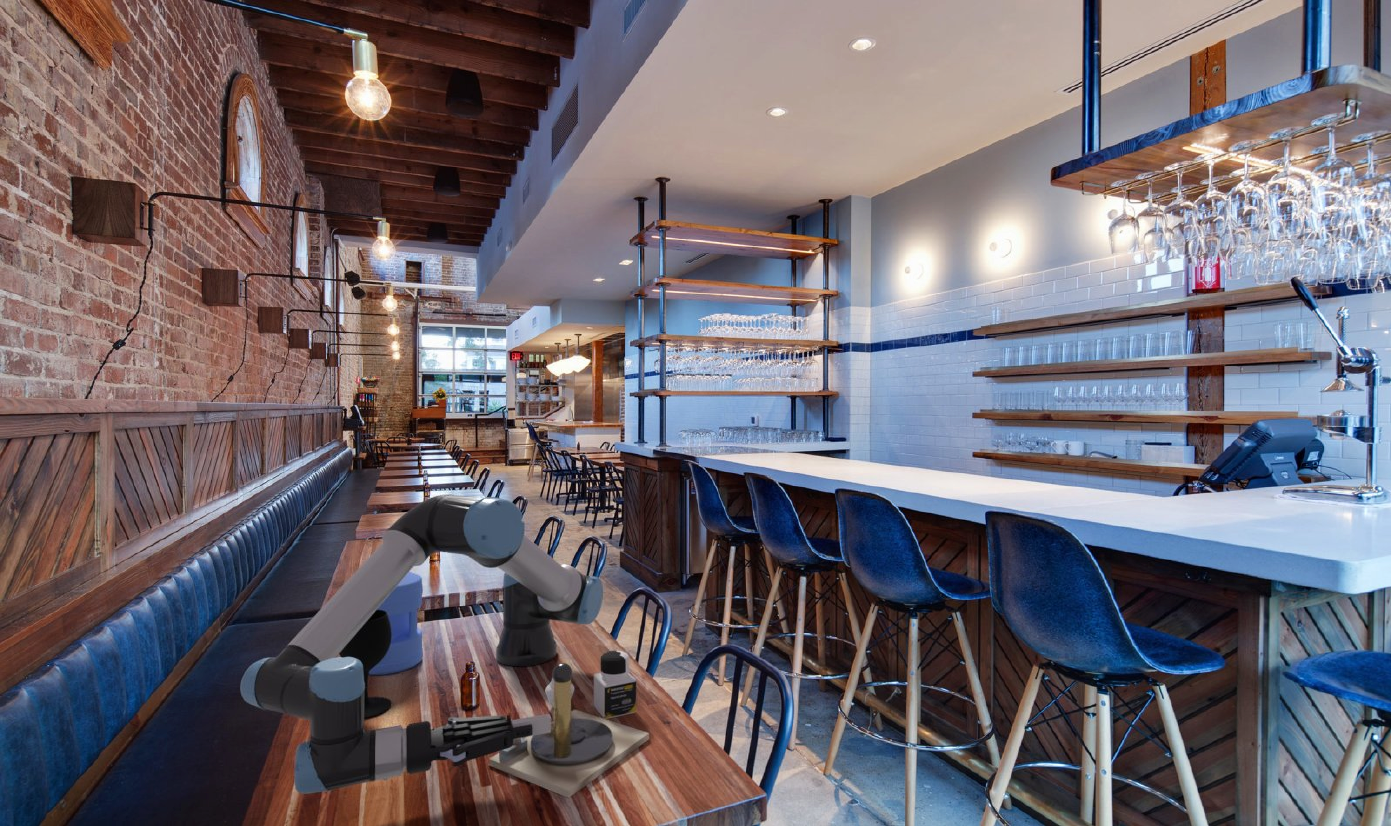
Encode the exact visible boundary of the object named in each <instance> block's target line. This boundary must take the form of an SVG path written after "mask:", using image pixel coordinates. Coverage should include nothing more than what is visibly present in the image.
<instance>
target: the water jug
mask: <svg viewBox="0 0 1391 826" xmlns="http://www.w3.org/2000/svg"><path fill="white" fill-rule="evenodd" d="M423 587H424V586H423V578H422V576H421V575H419V574H417V573H415V572H412V571H409V572H408V574H407V575H406V576H405V577H404V578H403V579H402V581H401V582H400V583H399V584H398V585H397V586H396V588H395V589H394V590H393V591H392V592H391V594H390V595H389V596H388V597H387V598H386V599H385V601H384V602H383V603H382V604H381V605H380V606H379V608H378V609H377V610H383V611H386V612H387V614H388V617H389V621H390V625H391V632H392V637H391V644H390V647H389V650H388V652H387V654H386V655H385V656H384V658H383V659H382V660H381V661H380V662H379V663H378V664H377V665H376V666H375V667H374V668H372V669H371V670H370V671H369V674H368V676H369V675H371V676H381V675H391V674H396V673H400V672H404V671H406V670H409V669H411V668H414V667H415V666H417V665H418V664H419V663H420V662H421V661H422V660H423V656H424V649H423V631H422V629H421V628H419V627H418V609H420V607H421V606H422V605H423V591H424V589H423Z"/></svg>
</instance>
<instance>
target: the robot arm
mask: <svg viewBox="0 0 1391 826" xmlns="http://www.w3.org/2000/svg"><path fill="white" fill-rule="evenodd" d="M523 518H524V516H523V514H522V511H521V510H520V509H519V507H518V506H517V505H516V504H515V503H513V502H512V501H510V500H508V499H504V498H500V497H496V496H488V497H478V496H468V495H467V496H466V495H454V494H440V495H436V496H432V497H430V498H428V499H425V500H423V501H422V502H420V503H418V504H416V505H415V506H413V507H411V508H410V509H409V510H408V511H407V512H405V513H404V514H403V515H402V516H400V517H399V518H398V519H397V520H396V521H395V522H393V524H392V525H391V526H389V528H388V529H387V530H386V531H384V533H383V534H382V543H381V544H380V545H379V546H378V547H377V548H376V549H375V550H374V551H373V552H372V554H370V555H369V557H368V558H367V559H366V560H365V561H364V562H363V563H362V564H361V565H360V566H359V568H357V569H356V571H354V573H353V574H352V575H351V576H350V577H349V578H348V579H347V581H346V582H345V583H343V584H342V586H341V587H340V588H339V589H338V590H336V591H337V592H335V593H334V595H332V596H331V598H330V599H329V600H327V602H325V604H324V606H322V607H321V609H320V610H318V612H317V613H316V614H315V615H314V616H313V617H312V618H311V619H310V621H308V623H307V624H306V625H305V626H304V627H303V628H302V629H301V630H300V631H299V632H297V634H296V636H294V638H293V639H292V640H291V641H290V642H289V643H288V644H286V646H285V648H283V649H282V651H281V652H280V653H279V654H278V655H277V656H275V657H264V658H262V659H261V658H260V659H259V660H257V661H255V662H254V663H252V664H251V665H249V667H248V668H247V669H246V671H245V672H244V674H243V676H242V678H241V681H240V688H239V689H240V694H241V697H242V698H243V701H245V702H246V703H247V704H249V705H252V706H254V707H257V708H259V709H261V710H263V711H272V712H277V713H280V714H284V715H289V716H292V717H295V718H300V719H303V720H307V721H309V722H310V723H309V727H310V728H309V729H310V733H309V734H310V738H309V739H308V740H307V741H303V742H301V743H299V745H298V746H297V747H296V750H295V757H294V774H293V775H294V776H293V777H294V787H295V790H296V791H297V793H299V794H302V795H305V794H307V795H308V794H312V793H313V794H314V793H321V792H326V793H327V792H331V791H333V790H336V789H341V788H346V787H350V786H355V785H360V784H365V783H369V782H376V781H381V780H383V781H388V780H389V779H390V778H391V779H392V778H396V777H400V776H402V775H403V772H406V774H408V775H413V774H419V773H422V772H428V771H430V769H431V768H432V762H433V761H446V760H450V761H452V767H459V766H461V765H463V764H465V763H467V762H469V761H472V760H475V759H478V758H481V757H484V756H487V755H491V754H494V753H497V752H499V751H501V750H504V749H507V748H510V747H511V746H513V739H519V738H526V737H529V736H534V735H540V734H545V733H550V732H551V723H552V717H551V714H550V713H545V714H539V715H534V716H529V717H523V718H517V719H512V715H511V714H506V715H504V714H499V715H489V716H487V715H486V716H474V717H473V716H471V717H455V716H454V717H452V716H451V717H448V719H447V724H446V725H441V726H438V727H435V728H432V726H431V722H430V721H429V720H426V721H425V720H424V721H420V722H419V721H417V722H414V723H413V722H412V723H409V724H408V725H406V728H405V727H404V728H403V725H401V724H400V725H394V726H389V727H388V726H387V727H383V728H378V729H373V730H365V719H364V690H365V682H364V675H363V665H362V663H361V661H360V660H358V659H356V658H353V657H344V658H342V657H340V656H338V655H339V653H340V652H341V651H342V650H343V648H344V647H345V646H346V645H347V644H348V643H349V641H350V640H351V639H352V638H353V637H354V636H355V634H356V633H357V632H358V631H359V630H360V629H361V627H362V626H363V625H364V624H365V623H366V622H367V620H368V619H369V618H370V617H371V616H372V615H373V613H374V612H375V611H376V610H377V609H378V608H379V606H380V605H381V604H382V603H383V602H384V601H385V599H386V598H387V597H388V596H389V595H390V594H391V592H392V591H393V590H394V589H395V588H396V586H397V585H398V584H399V583H400V582H401V581H402V579H403V578H404V577H405V576H406V575H407V574H408V572H411V570H412V569H413V568H414V567H418V566H421V565H423V564H424V563H425V562H426V561H427V559H428V558H429V557H430V556H432V555H434V554H436V553H447V554H448V553H449V554H456V555H463V556H467V557H469V558H470V559H472V560H473V561H475V562H476V563H478V564H479V565H481V566H482V567H484V568H487V569H495V568H498V569H499V570H501V571H502V572H504V574H503V581H502V582H503V583H502V584H503V585H502V611H503V612H502V619H503V620H502V623H503V624H502V625H503V626H502V630H501V634H500V637H499V639H498V640H499V641H498V644H497V646H496V649H495V659H496V661H497V662H498V663H499V664H502V665H504V666H505V665H506V666H508V667H509V666H510V667H529V666H530V667H531V666H535V665H536V666H537V665H540V664H544V663H546V662H549V661H551V660H553V659H554V658H555V657H556V656H557V652H558V651H557V650H558V648H557V647H558V646H557V642H556V640H555V637H554V633H553V630H552V627H551V623H550V621H551V620H552V621H559V622H562V623H563V622H564V623H568V624H569V623H571V624H576V625H578V626H579V625H591V624H592V623H594V621H595V620H596V619H597V618H598V616H599V613H600V611H601V608H602V604H603V598H604V586H603V582H602V580H601V578H599V577H598V576H594V575H590V576H589V575H587V574H582V573H581V572H580V571H579V570H578V569H576V568H575V567H574V566H571V565H569V564H560V563H559V562H558V561H556V560H555V559H554V557H552V556H551V555H549V554H548V553H547V552H546V551H544V550H543V549H542V548H541V547H540V546H539V545H537V544H536V543H534V541H532V540H531V539H530V538H529V537H528V536H526V534H525V529H526V527H525V521H523Z"/></svg>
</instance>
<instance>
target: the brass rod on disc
mask: <svg viewBox="0 0 1391 826" xmlns="http://www.w3.org/2000/svg"><path fill="white" fill-rule="evenodd" d="M573 674H574V673H573V668H572V667H571V665H570V664H568V663H565V662H560V663H558V664H557V665H555V666H554V668H553V669H552V673H551V678H553V680H554V708H553V722H554V723H552V722H551V732H550V733H545V734H540V735H534V736H533V737H532V739H531V752H532V754H533V755H534V756H535V757H536V758H537V759H539V760H540V761H543V762H545V763H548V764H553V765H577V764H582V763H586V762H590V761H593V760H595V759H597V758H599V757H601V756H603V755H604V754H605V753H606V752H607V751H608V750H609V749H610V748H611V746H612V732H611V730H610V728H609V727H608V726H606V725H605V724H603V723H601V722H598V721H594V720H589V719H571V711H572V698H571V683H572V678H573Z"/></svg>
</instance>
